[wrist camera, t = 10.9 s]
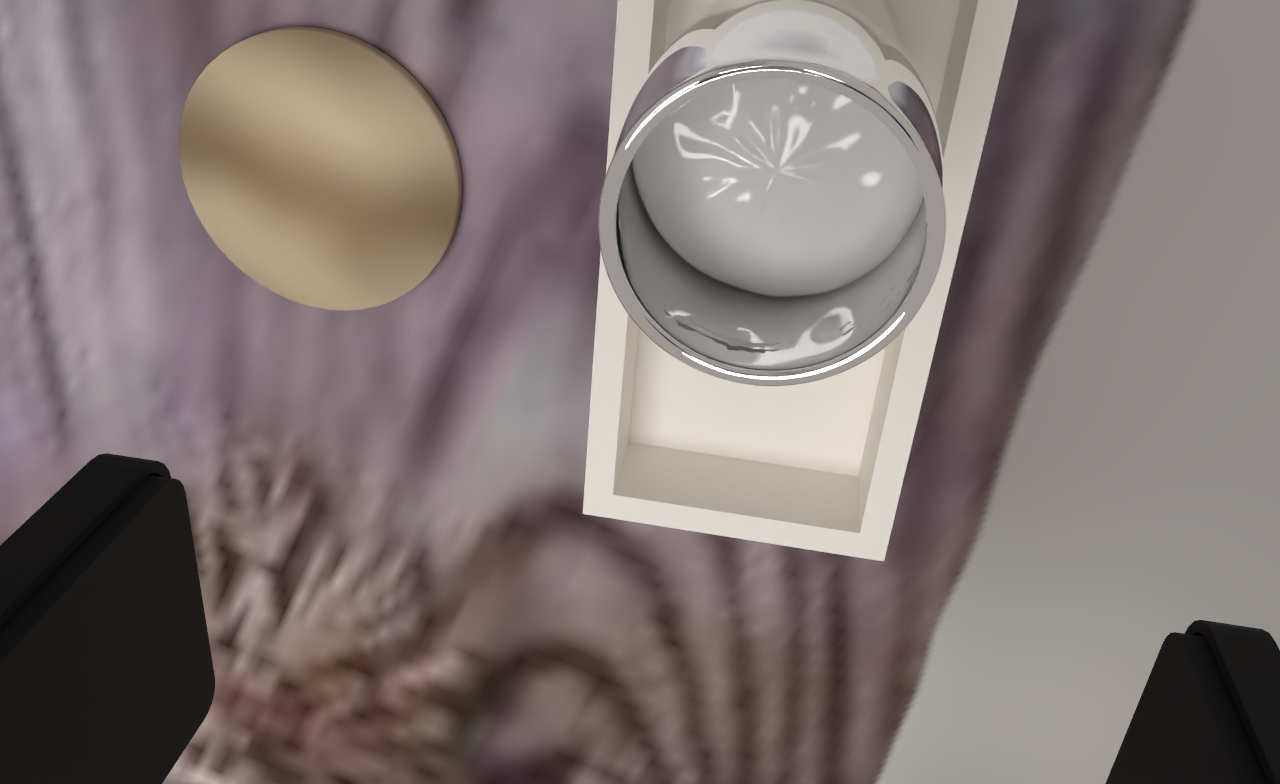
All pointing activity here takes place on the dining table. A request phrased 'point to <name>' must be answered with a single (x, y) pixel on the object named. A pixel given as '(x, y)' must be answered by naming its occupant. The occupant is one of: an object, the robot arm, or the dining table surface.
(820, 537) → the cream divided tray
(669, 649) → the dining table surface
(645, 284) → the beer glass
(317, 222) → the cork trivet
